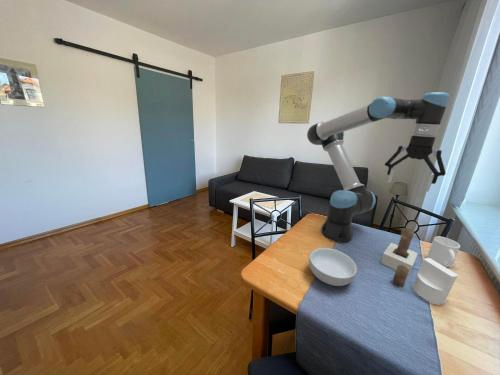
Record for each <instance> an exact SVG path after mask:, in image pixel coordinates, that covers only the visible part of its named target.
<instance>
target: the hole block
mask: <svg viewBox="0 0 500 375" xmlns="http://www.w3.org/2000/svg"><path fill="white" fill-rule="evenodd" d="M397 247H398V244H395V243H394V242H390V243H389V244H388V246H387V248H386V249H385V251H384V252H383V254H382V256H381V260H380V264H381V265H384V266H387V267H389V268H390V269H392V270H395V271H396V269H397V266H398V265H401V266H404V267H406V268H408V269H409V273H408V275H407V277H408V276H410V274H411V272H412V269H413V267H414V264H415V263H416V262H415V261H416V259H417V257H418V254H419V253H418V252H417V251H415V250H412V249H409V248H408V251H407V254H406V257H405V258H404V257H401V256H399V255H397V254H395V253H396V250H397Z"/></svg>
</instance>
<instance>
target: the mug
mask: <svg viewBox="0 0 500 375" xmlns="http://www.w3.org/2000/svg"><path fill="white" fill-rule="evenodd" d="M460 248H461V244H459V243H458V242H457V241H455V240H453V239H451V238H448V237H445V236H440V235H439V236H434V237H433V240H432V243H431V245H430V248H429V250H428V252H427V254H426V255H427V257H426V258H431V259H432V260H434V261H436V262H437V263H439V264H441V265H442V266H444V267H446V268H450V267H452V266H454V264H455V262H456V257H457V254H458V252H459V250H460Z"/></svg>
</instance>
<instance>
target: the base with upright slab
mask: <svg viewBox="0 0 500 375" xmlns="http://www.w3.org/2000/svg"><path fill="white" fill-rule="evenodd" d="M458 275H459V274H457V273H455V272H454V271H452V270H451V269H449V268H448V267H444V266H442V265H441V264H439V263H437V262H436V261H434V260H432V259H431V258H427V257H426V258H423V260H422V263H421V264H420V268H419V270H418V272H417V274H416V277H415V279H414V282H413V285H412V290H413V292H414V291H415V292H416V293H417V294H418V295H419V296H421V297H422V298H424V299H426V300H427V301H426V300H425V301H426V302H428V301H429V302H428V303H430V302H431V303H430V304H433V303H434V304H433V305H437V304H441V305H444V304H445V302H446V301H447V299H448V297H449V295H450V292H451V290H452V288H453V286H454V284H455V282H456V280H457V278H458ZM415 292H414V293H415ZM416 293H415V294H416ZM417 294H416V295H417ZM418 295H417V296H418ZM419 296H418V297H419ZM421 297H420V298H421ZM422 298H421V299H422ZM424 299H423V300H424Z"/></svg>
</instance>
